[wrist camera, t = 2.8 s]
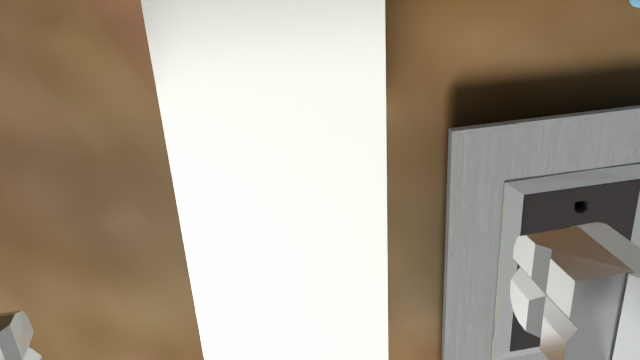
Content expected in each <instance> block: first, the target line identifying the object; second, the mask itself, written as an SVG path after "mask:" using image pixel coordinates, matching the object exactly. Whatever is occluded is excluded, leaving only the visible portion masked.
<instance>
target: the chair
mask: <svg viewBox="0 0 640 360" xmlns="http://www.w3.org/2000/svg"><path fill="white" fill-rule="evenodd" d="M629 2H630V4H631V5H632V6H634V7H638V8H640V0H629Z"/></svg>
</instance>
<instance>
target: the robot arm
mask: <svg viewBox="0 0 640 360" xmlns="http://www.w3.org/2000/svg"><path fill="white" fill-rule="evenodd" d="M513 259H514V260H515V261H516V263H517V264H518V265H519V267H520V268H519V269H518V270H517V272H516V273H515V274H514V276H513V277H512V278H511V284H510V298H511V303H512V308H513V311H514V314H515V316H516V318H517V320H518V322H519V323H520V324H521V326H522V327H523V328H524V330H525V331H526V332H528V333H531V334H533V335H535V336H537V337H539V338H541V340H540V350H541V351H542V352H543V353H544V355H545V356H546V357H547V358H548V360H640V248H639V247H637V246H636V245H635V244H633V243H632V242H631V241H629V240H628V239H626V238H625V237H624V236H622V235H621V234H620V233H618V232H617V231H615V230H614V229H613V228H611V227H610V226H609V225H607V224H605V223H601V222H594V223H589V224H584V225H578V226H573V227H569V228H563V229H558V230H552V231H546V232H541V233H535V234H529V235H524V236H518V237H517V239H516V242H515V244H514V250H513ZM33 334H34V332H33V329H32V326H31V324H30V321H29V318H28V316H27V315H26V314H25V313H23V312H22V311H15V312H7V313H0V360H42V356H41V355H40V354H38V353H37V352H35V351H34V350H32V349H31V348H29V347H28V346H29V344H30V341H31V339H32V336H33Z"/></svg>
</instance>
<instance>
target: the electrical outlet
mask: <svg viewBox="0 0 640 360" xmlns="http://www.w3.org/2000/svg"><path fill="white" fill-rule="evenodd" d="M594 222H601V223H605V224H607V225H609V226H610V227H611V228H613V229H614V230H615V231H617V232H618V233H620V234H621V235H622V236H624V237H625V238H626V239H628V240H629V241H631V242H632V243H633V244H635V245H636V246H637V247H639V248H640V105H637V106H628V107H620V108H612V109H604V110H595V111H587V112H579V113H571V114H562V115H554V116H546V117H538V118H529V119H521V120H513V121H505V122H496V123H488V124H480V125H472V126H463V127H455V128H449V135H448V167H447V199H446V232H445V264H444V296H443V328H442V360H548V358H547V357H546V356H545V355H544V353H543V352H542V351H541V350H540V340H541V338H539V337H537V336H535V335H533V334H531V333H528V332H526V331H525V330H524V328H523V327H522V326H521V324H520V323H519V322H518V320H517V318H516V316H515V314H514V311H513V308H512V303H511V298H510V284H511V278H512V277H513V276H514V274H515V273H516V272H517V270H518V269H519V268H520V267H519V265H518V264H517V263H516V261H515V260H514V259H513V250H514V244H515V242H516V239H517V237H518V236H524V235H529V234H535V233H541V232H546V231H552V230H558V229H563V228H569V227H573V226H578V225H584V224H589V223H594Z"/></svg>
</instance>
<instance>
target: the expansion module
mask: <svg viewBox="0 0 640 360" xmlns="http://www.w3.org/2000/svg"><path fill="white" fill-rule="evenodd" d="M141 5H142V10H143V16H144V22H145V27H146V33H147V38H148V44H149V50H150V55H151V61H152V67H153V72H154V78H155V84H156V89H157V95H158V101H159V106H160V112H161V118H162V123H163V129H164V135H165V140H166V146H167V152H168V157H169V163H170V169H171V174H172V180H173V186H174V191H175V197H176V203H177V208H178V214H179V220H180V225H181V231H182V236H183V242H184V248H185V253H186V259H187V265H188V270H189V276H190V282H191V287H192V293H193V299H194V304H195V310H196V316H197V321H198V327H199V333H200V338H201V344H202V350H203V355H204V360H388V276H387V160H386V43H385V0H141Z"/></svg>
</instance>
